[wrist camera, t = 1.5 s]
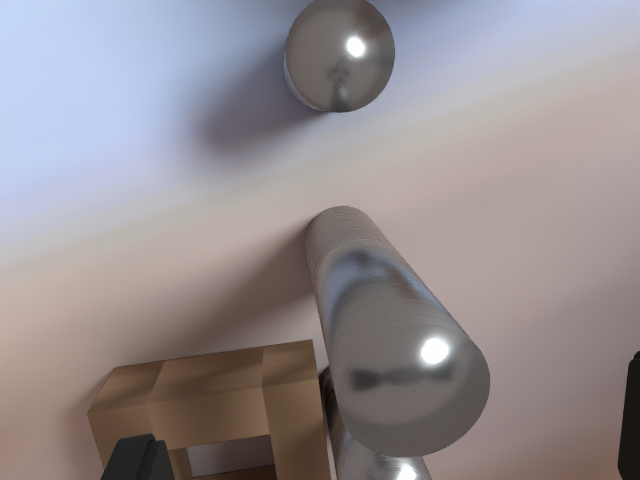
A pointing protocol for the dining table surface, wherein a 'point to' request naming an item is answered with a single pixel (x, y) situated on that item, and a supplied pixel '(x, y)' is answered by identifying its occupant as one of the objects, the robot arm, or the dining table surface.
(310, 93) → the short pin
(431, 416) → the long pin
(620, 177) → the dining table surface
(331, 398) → the medium pin
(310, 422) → the socket block
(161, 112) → the dining table surface
